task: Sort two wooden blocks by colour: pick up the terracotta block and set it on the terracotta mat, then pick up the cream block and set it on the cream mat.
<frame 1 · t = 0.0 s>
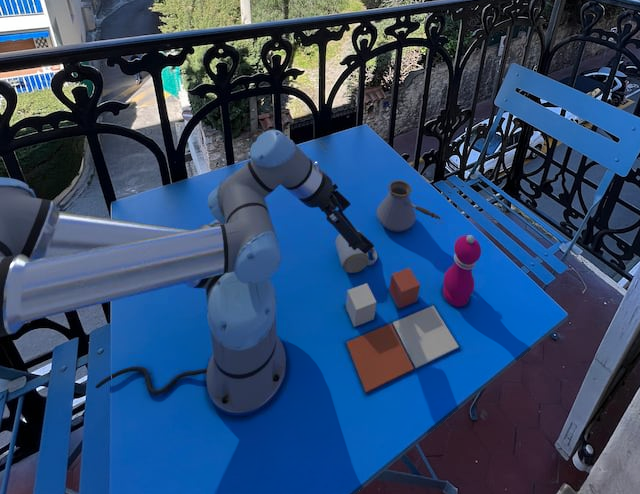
hand: (357, 226, 97), 15 cm above the table, tool tilted 35°, fingers open, 13 cm apart
coffee pot: (405, 233, 116), on the table
terracotta mat: (379, 356, 85), on the table
ceramic mug: (356, 259, 106), on the table
cream mat: (424, 335, 90), on the table
cream block: (359, 313, 93), on the table
pepper mill: (455, 295, 99), on the table
terracotta block: (402, 296, 98), on the table
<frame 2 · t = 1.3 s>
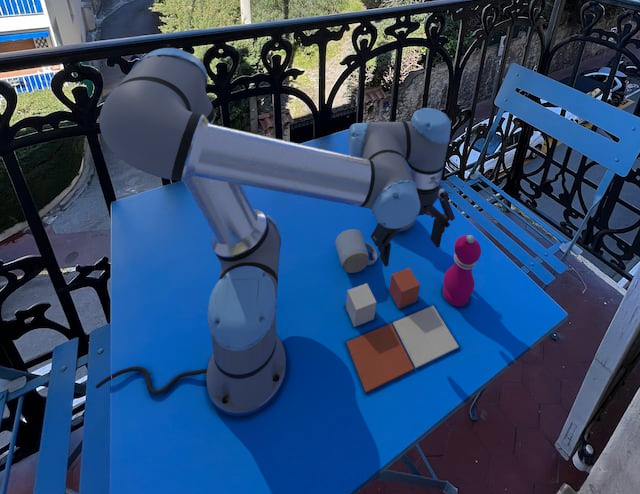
hand: (410, 252, 92), 15 cm above the table, tool pointing down, fingers open, 13 cm apart
nothing on the table moved.
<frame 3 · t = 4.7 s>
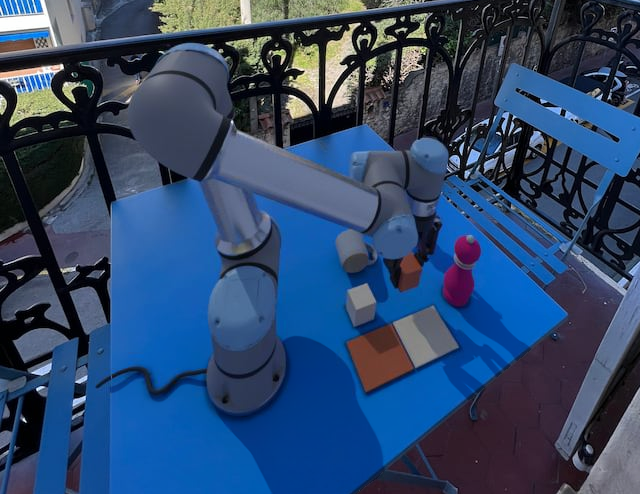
hand: (404, 279, 95), 6 cm above the table, tool pointing down, fingers closed on terracotta block, 5 cm apart
terracotta block: (404, 280, 95), point 6 cm above the table, touching gripper
everything else where it was.
when the fingers open (1 cm above the table, at t = 8.8 s): terracotta block stays where it is, resting on terracotta mat.
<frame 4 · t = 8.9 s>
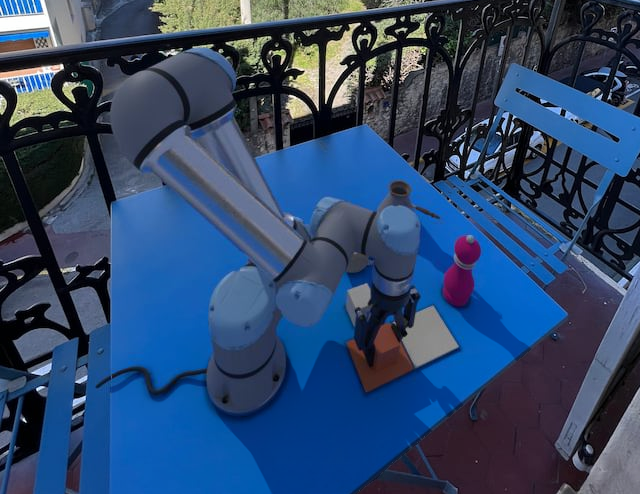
hand: (380, 354, 85), 1 cm above the table, tool pointing down, fingers open, 5 cm apart
terracotta block: (380, 355, 85), point 1 cm above the table, touching terracotta mat
everything else where it was.
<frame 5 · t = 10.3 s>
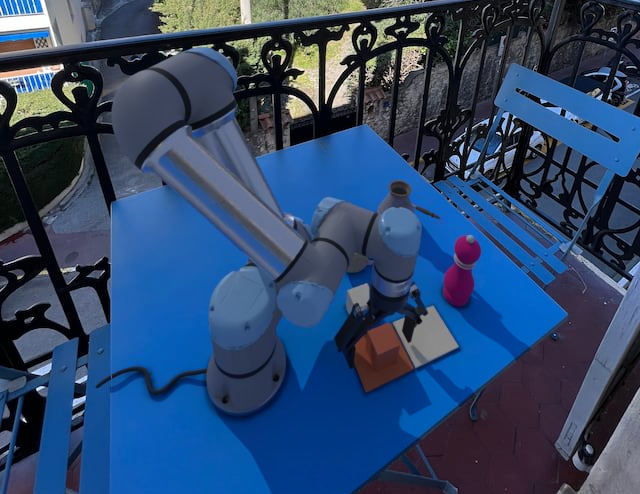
hand: (378, 348, 84), 2 cm above the table, tool pointing down, fingers open, 13 cm apart
nothing on the table moved.
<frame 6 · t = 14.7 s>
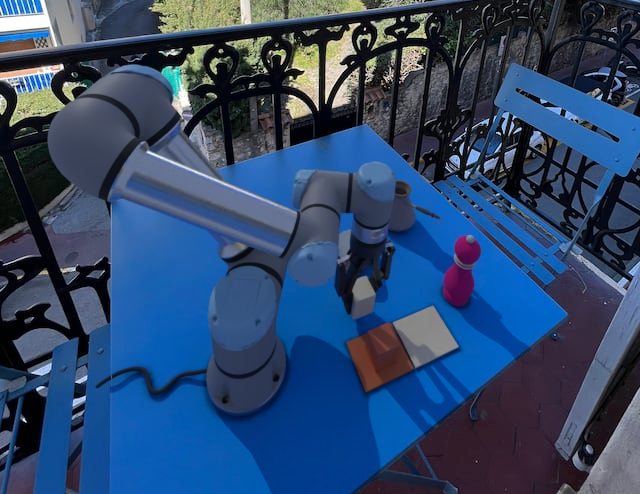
hand: (358, 304, 92), 3 cm above the table, tool pointing down, fingers closed on cream block, 5 cm apart
cream block: (358, 305, 92), point 3 cm above the table, touching gripper
everything else where it was.
when the fingers open (1 cm above the table, at t = 19.1 s): cream block stays where it is, resting on cream mat.
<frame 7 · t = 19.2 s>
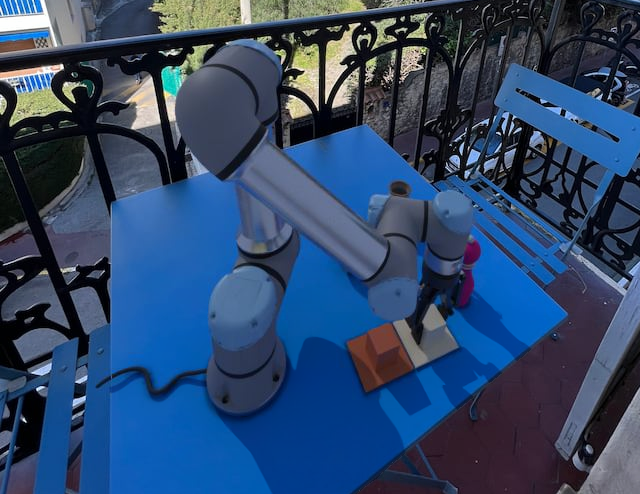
hand: (427, 333, 90), 1 cm above the table, tool pointing down, fingers open, 5 cm apart
cream block: (426, 334, 90), resting on cream mat
everything else where it was.
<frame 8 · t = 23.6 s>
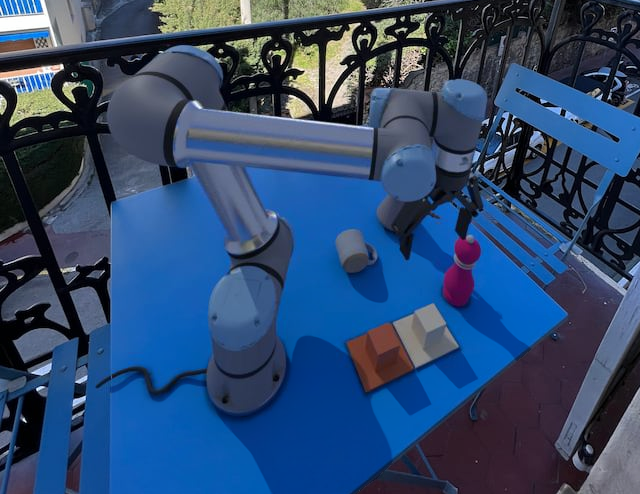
hand: (433, 244, 82), 25 cm above the table, tool pointing down, fingers open, 13 cm apart
nothing on the table moved.
at the end: terracotta block inside the target area on the terracotta mat (0.3 cm from its centre), point 0.5 cm above the terracotta mat's base; cream block inside the target area on the cream mat (0.2 cm from its centre), point 0.5 cm above the cream mat's base; terracotta block tilted 0° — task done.
